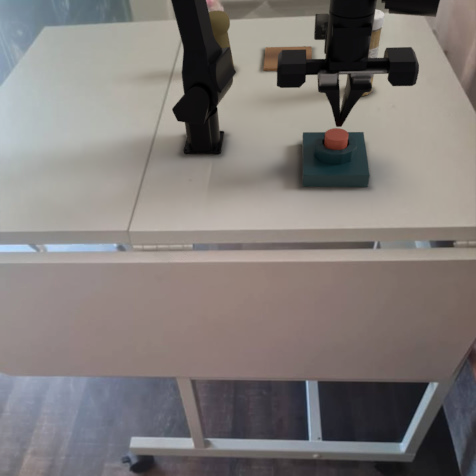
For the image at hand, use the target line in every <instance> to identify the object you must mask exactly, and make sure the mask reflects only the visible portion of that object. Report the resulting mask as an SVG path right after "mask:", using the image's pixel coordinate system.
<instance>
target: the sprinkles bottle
mask: <svg viewBox="0 0 476 476" xmlns="http://www.w3.org/2000/svg"><path fill="white" fill-rule="evenodd" d="M384 23H385V13H384V11H383V10H380V9H377V8H376V9H375V16H374V23H373V30H372V36H371V43H370V49H369V56H368V57H371V58H378V56H379V55H378V54H379V48H380V40H381V34H382V29H383V26H384ZM374 77H375V74H373V78H371V84H372V85H373V82H374ZM372 91H373V89H372V90H371V91H370V92H365V93H364V94H363V95H362V96H361V97H363V96H367V95H369V94H371V93H372Z"/></svg>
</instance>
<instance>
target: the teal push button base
mask: <svg viewBox="0 0 476 476" xmlns="http://www.w3.org/2000/svg"><path fill="white" fill-rule="evenodd" d="M347 132H348V134H349V136H348V143H347V147H346V148H345V149H342V150H331V149H328V148H326V147H325V146H324V139H325V133H326V131H323V132H322V131H309V132H308V131H306V132H305V131H304V132H302V145H301V147H302V148H301V153H302V155H301V157H302V159H301V164H302V166H301V169H302V170H301V173H302V175H301V178H302V179H301V180H302V181H301V182H302V183H301V184H302V185H301V186H302V187H303V188H368V187H369V182H370V177H371V176H370V175H371V174H370V168H369V160H368V153H367V146H366V140H365V132H364V131H347Z"/></svg>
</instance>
